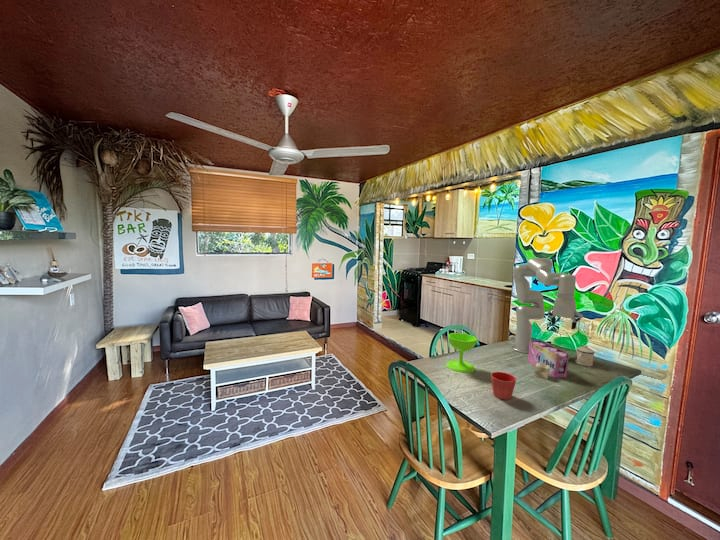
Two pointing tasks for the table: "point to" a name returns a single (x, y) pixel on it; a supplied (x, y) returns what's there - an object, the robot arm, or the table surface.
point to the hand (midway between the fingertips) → (563, 326)
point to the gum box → (549, 358)
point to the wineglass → (461, 351)
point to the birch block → (542, 370)
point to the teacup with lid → (584, 356)
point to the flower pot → (503, 385)
